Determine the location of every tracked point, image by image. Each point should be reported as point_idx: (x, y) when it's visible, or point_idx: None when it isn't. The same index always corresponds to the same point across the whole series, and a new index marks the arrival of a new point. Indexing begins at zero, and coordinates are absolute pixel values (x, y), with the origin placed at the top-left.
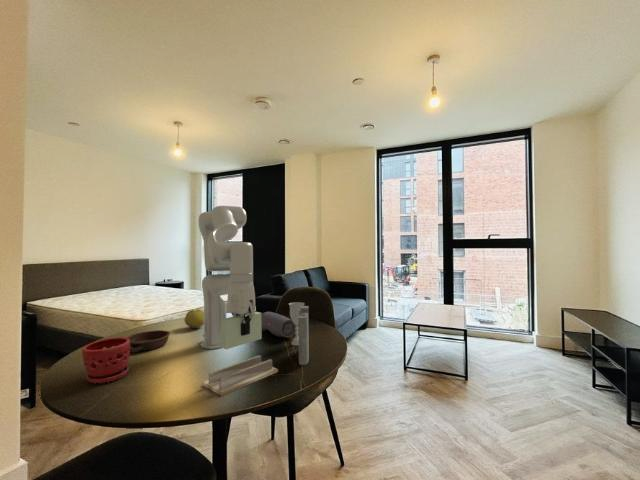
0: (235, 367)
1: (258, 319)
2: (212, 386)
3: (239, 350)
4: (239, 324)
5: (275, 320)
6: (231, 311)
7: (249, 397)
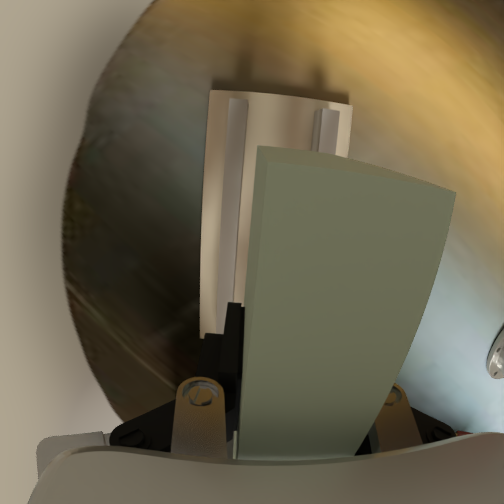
0: None
1: None
2: (287, 100)
3: (440, 364)
4: (244, 355)
5: None
6: (430, 454)
7: (127, 148)
